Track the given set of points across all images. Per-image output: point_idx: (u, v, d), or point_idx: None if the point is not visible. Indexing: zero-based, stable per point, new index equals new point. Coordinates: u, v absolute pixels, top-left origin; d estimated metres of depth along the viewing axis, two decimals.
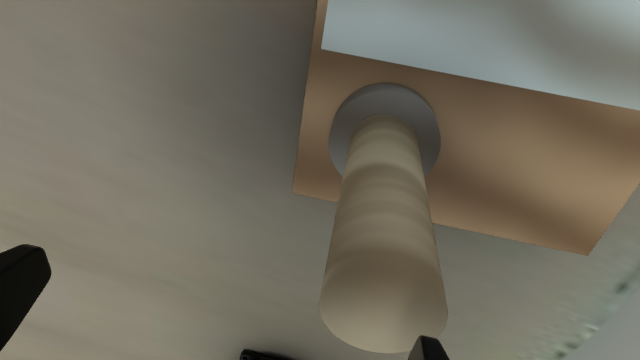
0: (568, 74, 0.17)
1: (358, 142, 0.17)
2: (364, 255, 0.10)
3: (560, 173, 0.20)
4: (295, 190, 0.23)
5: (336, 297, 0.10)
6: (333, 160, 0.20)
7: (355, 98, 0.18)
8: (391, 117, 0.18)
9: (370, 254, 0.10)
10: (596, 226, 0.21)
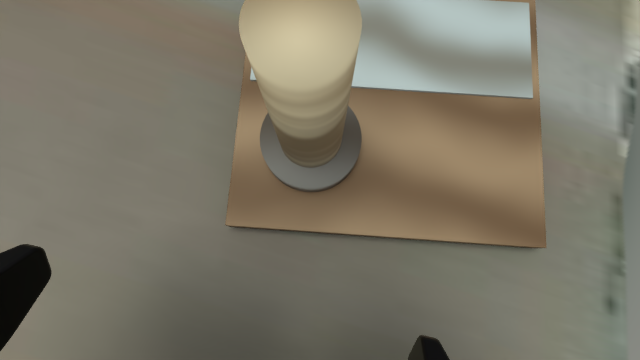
0: (440, 77, 0.23)
1: None
2: None
3: (475, 159, 0.22)
4: (229, 221, 0.21)
5: (255, 12, 0.10)
6: (266, 159, 0.20)
7: None
8: None
9: None
10: (533, 210, 0.21)
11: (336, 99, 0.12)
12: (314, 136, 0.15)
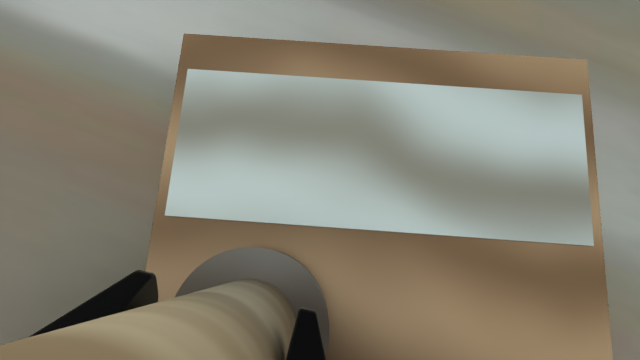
0: (453, 211, 0.15)
1: None
2: None
3: (508, 347, 0.14)
4: None
5: None
6: None
7: None
8: (250, 279, 0.13)
9: None
10: None
11: None
12: None
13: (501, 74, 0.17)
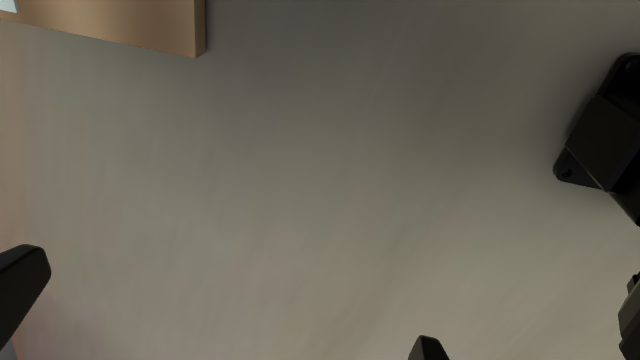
0: None
1: None
2: None
3: None
4: (190, 53, 0.18)
5: None
6: None
7: None
8: None
9: None
10: None
11: None
12: None
13: None
